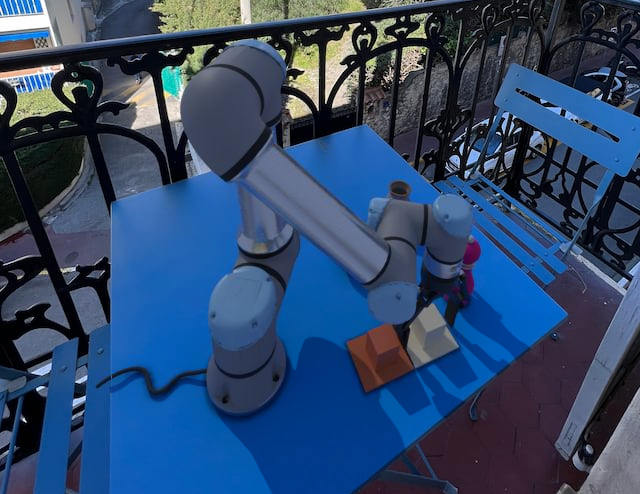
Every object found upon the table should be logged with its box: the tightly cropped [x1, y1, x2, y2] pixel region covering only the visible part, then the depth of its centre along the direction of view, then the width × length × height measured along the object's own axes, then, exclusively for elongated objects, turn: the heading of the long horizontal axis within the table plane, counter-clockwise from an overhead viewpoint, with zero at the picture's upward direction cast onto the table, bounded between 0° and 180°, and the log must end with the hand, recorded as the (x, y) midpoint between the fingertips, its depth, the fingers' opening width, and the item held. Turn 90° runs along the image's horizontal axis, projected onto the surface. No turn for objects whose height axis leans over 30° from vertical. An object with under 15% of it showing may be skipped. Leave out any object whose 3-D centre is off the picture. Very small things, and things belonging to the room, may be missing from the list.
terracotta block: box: [365, 323, 400, 372], centre depth 84 cm, size 5×5×6 cm
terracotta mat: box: [346, 324, 415, 394], centre depth 85 cm, size 11×10×1 cm
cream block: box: [411, 302, 447, 350], centre depth 88 cm, size 5×5×6 cm
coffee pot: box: [384, 179, 412, 202], centre depth 112 cm, size 21×12×15 cm, turn 35°
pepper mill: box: [443, 234, 482, 306], centre depth 95 cm, size 7×7×20 cm
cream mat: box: [405, 324, 460, 369], centre depth 90 cm, size 11×10×1 cm
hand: (425, 332), depth 89 cm, fingers open, 11 cm apart
